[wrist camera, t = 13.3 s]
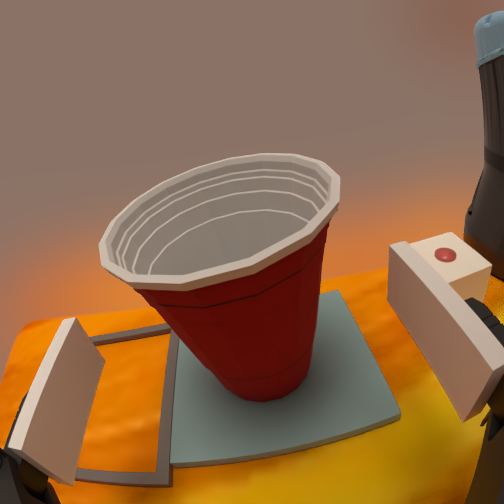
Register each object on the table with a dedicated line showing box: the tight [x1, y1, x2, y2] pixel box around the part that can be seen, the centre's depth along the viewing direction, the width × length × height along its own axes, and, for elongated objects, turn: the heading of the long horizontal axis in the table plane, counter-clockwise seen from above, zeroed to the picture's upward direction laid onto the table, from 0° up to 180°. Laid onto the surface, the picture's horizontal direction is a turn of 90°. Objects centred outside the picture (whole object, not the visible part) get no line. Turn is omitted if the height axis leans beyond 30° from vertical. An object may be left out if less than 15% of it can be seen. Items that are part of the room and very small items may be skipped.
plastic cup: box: [99, 153, 340, 402], centre depth 16 cm, size 11×11×12 cm
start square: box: [75, 323, 180, 487], centre depth 19 cm, size 15×15×1 cm
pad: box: [170, 290, 401, 468], centre depth 19 cm, size 13×12×1 cm
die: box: [409, 232, 492, 303], centre depth 19 cm, size 5×5×5 cm
